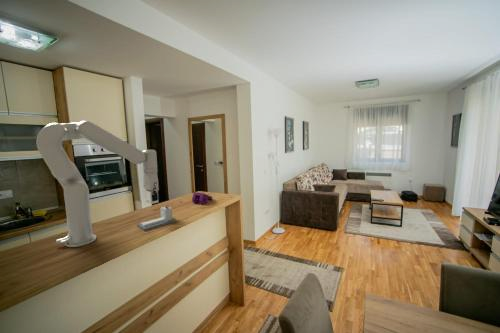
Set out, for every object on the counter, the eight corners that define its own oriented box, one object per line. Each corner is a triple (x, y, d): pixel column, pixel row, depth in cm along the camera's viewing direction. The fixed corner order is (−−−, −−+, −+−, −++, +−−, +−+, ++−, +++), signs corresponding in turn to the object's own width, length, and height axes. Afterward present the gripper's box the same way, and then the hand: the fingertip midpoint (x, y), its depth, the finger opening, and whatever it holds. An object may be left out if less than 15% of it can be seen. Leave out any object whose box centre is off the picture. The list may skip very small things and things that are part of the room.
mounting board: (144, 231, 124) (143, 214, 123) (137, 226, 131) (136, 210, 130) (176, 221, 139) (175, 206, 138) (168, 217, 146) (168, 203, 145)
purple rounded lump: (203, 206, 190) (191, 202, 175) (205, 196, 193) (193, 192, 177) (212, 207, 187) (200, 203, 171) (214, 197, 189) (203, 193, 173)
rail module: (151, 204, 129) (150, 191, 128) (146, 202, 133) (145, 190, 132) (158, 202, 132) (157, 190, 131) (153, 200, 136) (153, 188, 135)
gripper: (137, 169, 133) (139, 198, 135) (151, 172, 122) (152, 203, 124) (150, 168, 138) (151, 195, 141) (163, 171, 127) (165, 201, 130)
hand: (152, 199), depth 132 cm, fingers closed on rail module, 6 cm apart
